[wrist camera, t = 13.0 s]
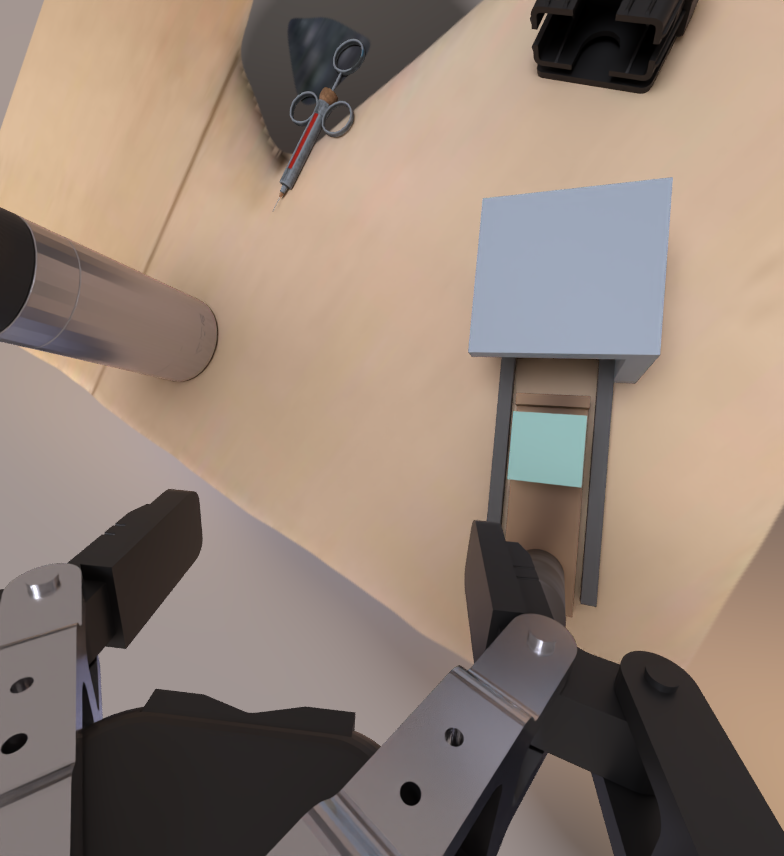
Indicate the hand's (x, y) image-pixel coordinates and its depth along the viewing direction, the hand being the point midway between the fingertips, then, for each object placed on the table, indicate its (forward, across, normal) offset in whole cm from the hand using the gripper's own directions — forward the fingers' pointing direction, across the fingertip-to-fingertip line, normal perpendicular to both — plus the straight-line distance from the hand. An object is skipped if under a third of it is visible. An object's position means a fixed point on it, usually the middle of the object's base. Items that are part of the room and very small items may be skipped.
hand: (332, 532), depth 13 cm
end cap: (+33, -15, -25) cm, 44 cm away
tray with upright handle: (+19, -13, +8) cm, 25 cm away
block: (+20, -12, +4) cm, 24 cm away
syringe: (+41, +10, -19) cm, 46 cm away
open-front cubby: (+25, -13, -5) cm, 29 cm away
